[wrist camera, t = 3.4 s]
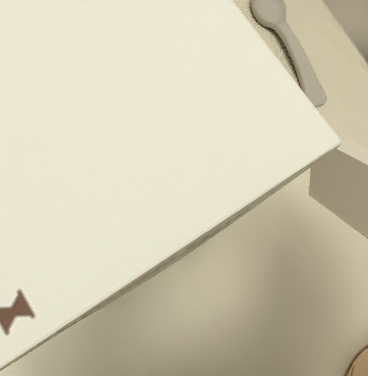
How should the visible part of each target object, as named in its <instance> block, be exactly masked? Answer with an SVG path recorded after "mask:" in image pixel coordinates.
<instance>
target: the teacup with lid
mask: <svg viewBox="0 0 368 376" xmlns="http://www.w3.org/2000/svg"><path fill="white" fill-rule="evenodd" d="M347 376H368V348H366V349H365V350H364V351H363V352H362V353H361V354H360V355H359V356H358V357H357V358H356V360H355V361H354V363H353V364H352V366H351V368H350V370H349V373H348V375H347Z"/></svg>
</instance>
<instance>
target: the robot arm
mask: <svg viewBox="0 0 368 376" xmlns="http://www.w3.org/2000/svg"><path fill="white" fill-rule="evenodd" d="M338 136H339V135H338ZM339 138H340V140H341V145H340V146H339V147H338V148H337V149H335V150H334V151H333V152H331V153H330V154H328V155H327V156H325V157H324V158H322V159H321V160H320V161H318V162H317V163H315V164H314V165H313V166H311V170H310V186H309V195H310V196H311V197H313V198H314V199H315V200H317V201H318V202H319V203H321V204H322V205H323V206H325V207H326V208H327V209H329V210H330V211H331V212H333V213H334V214H335V215H337V216H338V217H339V218H341V219H342V220H343V221H345V222H346V223H347V224H349V225H350V226H351V227H353V228H354V229H355V230H357V231H358V232H359V233H361V234H362V235H363V236H365V237H366V238H367V239H368V149H366V148H364V147H362V146H360V145H358V144H356V143H354V142H351V141H349V140H347V139H345V138H343V137H341V136H339Z"/></svg>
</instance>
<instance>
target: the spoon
mask: <svg viewBox="0 0 368 376" xmlns="http://www.w3.org/2000/svg"><path fill="white" fill-rule="evenodd" d="M251 9H252V12H253V14H254V16H255V18H256V19H257V21H258V22H259V23H260V24H262V25H263V26H265V27H269V28H272V29H273V30H275V31H276V32H277V33H278V35H279V36H280V37H281V39H282V41H283V42H284V44H285V46H286V48H287V50H288V52H289V54H290V56H291V59H292V61H293V64H294V67H295V69H296V72H297V75H298V79H299V82H300V86H301V90H302V91H303V92H304V93H305V95H306V96H307V97H308V99H309V100H310V101H311V103H312V104H313V105H314V106H315V108H316V107H318V106H321V105H323V104H324V103H325V102H326V100H327V97H326V94H325V92H324V90H323V88H322V86H321V84H320V82H319V80H318V79H317V77H316V75H315V73H314V71H313V68H312V66H311V64H310V62H309V60H308V58H307V56H306V54H305V52H304V50H303V48H302V46H301V45H300V43H299V41H298V40H297V38H296V36H295V35H294V33H293V32H292V30H291V29H290V27H289V25H288V24H287V22H286V6H285V3H284V1H283V0H251Z"/></svg>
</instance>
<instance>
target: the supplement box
mask: <svg viewBox="0 0 368 376" xmlns="http://www.w3.org/2000/svg"><path fill="white" fill-rule="evenodd" d="M340 145H341V140H340V138H339V136H338V135H337V134H336V133H335V131H334V130H333V129H332V128H331V126H330V125H329V124H328V123H327V121H326V120H325V119H324V118H323V116H322V115H321V114H320V113H319V111H318V110H317V109H316V108H315V106H314V105H313V104H312V103H311V101H310V100H309V99H308V97H307V96H306V95H305V93H304V92H303V91H302V90H301V88H300V87H299V86H298V84H297V83H296V82H295V81H294V79H293V78H292V77H291V75H290V74H289V73H288V71H287V70H286V69H285V68H284V66H283V65H282V64H281V62H280V61H279V60H278V59H277V57H276V56H275V55H274V53H273V52H272V51H271V49H270V48H269V47H268V46H267V44H266V43H265V42H264V40H263V39H262V38H261V36H260V35H259V34H258V33H257V31H256V30H255V29H254V27H253V26H252V25H251V23H250V22H249V21H248V19H247V18H246V17H245V16H244V14H243V13H242V12H241V10H240V9H239V8H238V6H237V5H236V4H235V2H234V1H233V0H0V371H1V370H2V369H4V368H6V367H7V366H9V365H11V364H12V363H14V362H15V361H17V360H18V359H20V358H21V357H23V356H24V355H26V354H28V353H29V352H31V351H32V350H34V349H35V348H37V347H38V346H40V345H42V344H43V343H45V342H46V341H48V340H49V339H51V338H53V337H54V336H56V335H57V334H59V333H61V332H62V331H64V330H65V329H67V328H69V327H70V326H72V325H73V324H75V323H77V322H78V321H80V320H82V319H83V318H85V317H87V316H88V315H90V314H92V313H94V312H95V311H97V310H99V309H100V308H102V307H104V306H105V305H107V304H109V303H110V302H112V301H114V300H115V299H117V298H119V297H120V296H122V295H124V294H125V293H127V292H129V291H131V290H132V289H134V288H135V287H137V286H138V285H140V284H142V283H143V282H145V281H146V280H148V279H150V278H151V277H153V276H155V275H156V274H158V273H159V272H161V271H162V270H164V269H165V268H167V267H168V266H170V265H171V264H173V263H174V262H176V261H177V260H179V259H180V258H182V257H183V256H185V255H186V254H188V253H190V252H191V251H193V250H194V249H195V248H197V247H198V246H200V245H201V244H203V243H204V242H206V241H207V240H209V239H210V238H211V237H213V236H214V235H216V234H217V233H219V232H220V231H222V230H223V229H224V228H226V227H227V226H229V225H230V224H231V223H233V222H234V221H236V220H237V219H239V218H240V217H241V216H243V215H244V214H246V213H247V212H249V211H250V210H251V209H253V208H254V207H256V206H257V205H258V204H260V203H261V202H263V201H264V200H265V199H267V198H268V197H269V196H271V195H272V194H274V193H275V192H276V191H278V190H279V189H281V188H282V187H283V186H285V185H286V184H288V183H289V182H290V181H292V180H293V179H295V178H296V177H297V176H299V175H300V174H302V173H303V172H304V171H306V170H307V169H309V168H310V167H311V166H313V165H314V164H315V163H317V162H318V161H320V160H321V159H322V158H324V157H325V156H327V155H328V154H330V153H331V152H333V151H334V150H335V149H337V148H338V147H339V146H340Z"/></svg>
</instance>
